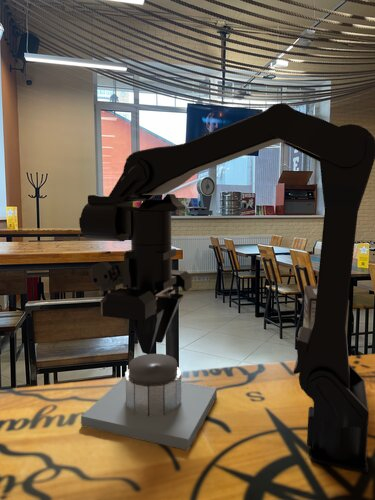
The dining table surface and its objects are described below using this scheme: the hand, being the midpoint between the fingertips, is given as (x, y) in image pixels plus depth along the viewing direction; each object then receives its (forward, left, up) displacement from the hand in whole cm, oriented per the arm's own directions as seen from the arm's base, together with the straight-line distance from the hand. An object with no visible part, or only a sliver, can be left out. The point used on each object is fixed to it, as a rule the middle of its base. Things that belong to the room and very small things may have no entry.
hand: (152, 347), depth 57 cm
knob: (0, 0, -8) cm, 8 cm away
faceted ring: (0, 0, -8) cm, 8 cm away
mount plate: (0, 0, -10) cm, 10 cm away
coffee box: (-24, -19, -10) cm, 32 cm away
